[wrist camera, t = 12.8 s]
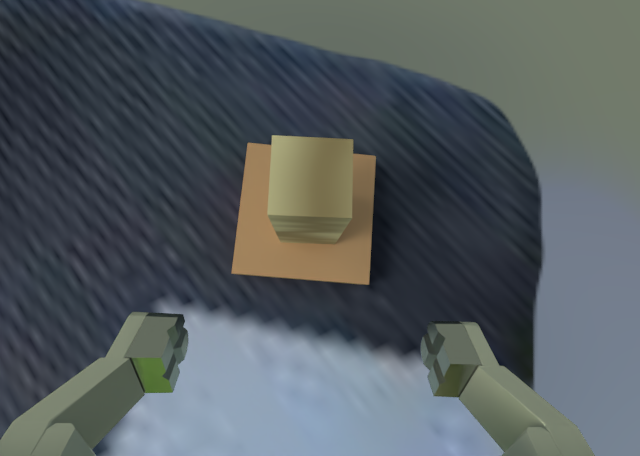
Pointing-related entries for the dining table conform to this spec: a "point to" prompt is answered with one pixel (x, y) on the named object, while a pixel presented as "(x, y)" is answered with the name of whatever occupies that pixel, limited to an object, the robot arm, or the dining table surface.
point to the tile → (302, 258)
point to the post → (310, 188)
